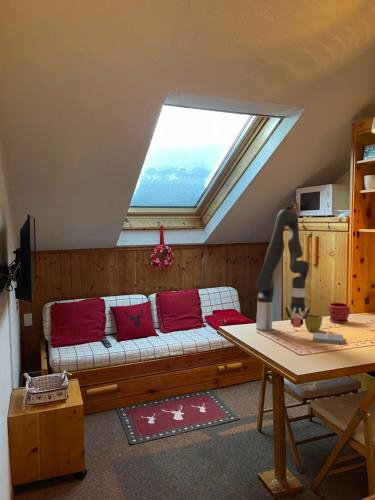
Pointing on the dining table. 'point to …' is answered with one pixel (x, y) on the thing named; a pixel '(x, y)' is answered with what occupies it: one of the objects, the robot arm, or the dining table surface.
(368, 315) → the dining table surface
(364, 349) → the dining table surface
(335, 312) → the plant pot
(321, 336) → the pin board
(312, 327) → the flower pot
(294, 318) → the socket housing
